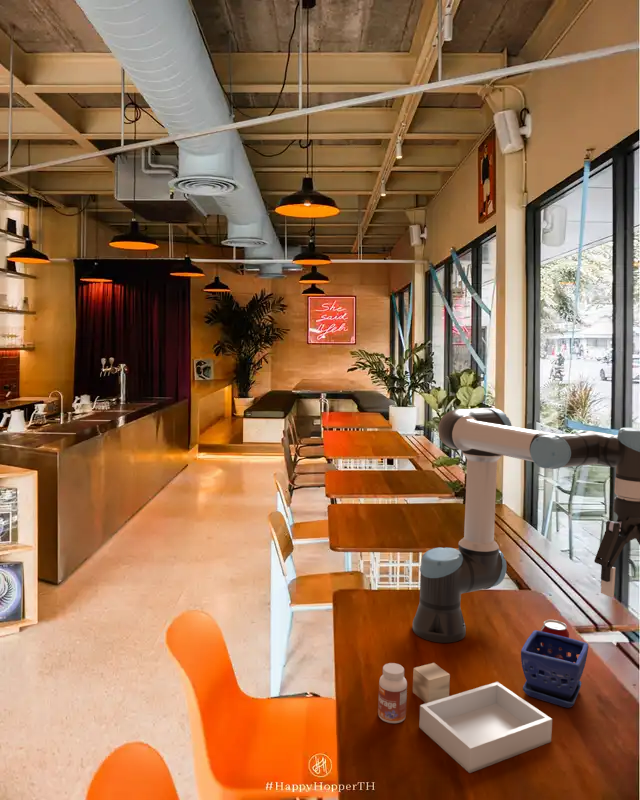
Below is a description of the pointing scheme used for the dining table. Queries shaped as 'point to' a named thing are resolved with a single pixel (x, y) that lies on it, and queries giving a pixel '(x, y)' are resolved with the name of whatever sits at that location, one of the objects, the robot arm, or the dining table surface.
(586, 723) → the dining table surface
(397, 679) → the pill bottle
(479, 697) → the tote
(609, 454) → the robot arm
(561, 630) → the soda can
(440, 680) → the beech cube
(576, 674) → the flower pot
